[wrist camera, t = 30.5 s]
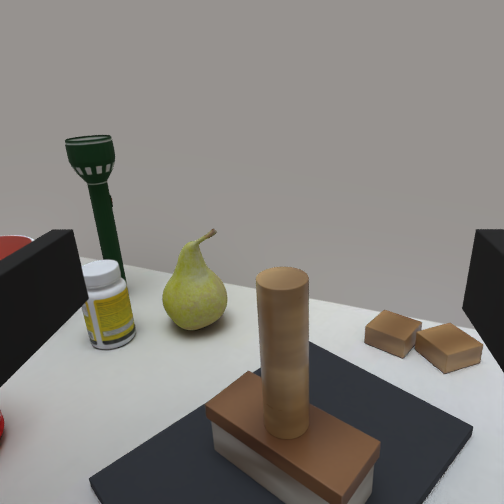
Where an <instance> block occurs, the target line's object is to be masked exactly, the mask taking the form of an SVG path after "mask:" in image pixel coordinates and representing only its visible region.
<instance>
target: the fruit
mask: <svg viewBox="0 0 504 504" xmlns="http://www.w3.org/2000/svg"><path fill="white" fill-rule="evenodd" d="M216 233H217V231H216V230H215V229H212V230H211V231H210V232H209V233H208V234H206V235H205V236H203V237H201V238H200V239H198V240H196V241H191V242H189V243H187V244H186V245H185V246H184V247H183V249H182V250H181V252H180V255H179V258H178V263H177V266H176V268H175V271H174V273H173V275H172V277H171V278H170V280H169V281H168V283H167V284H166V286H165V289H164V291H163V306H164V308H165V311H166V312H167V314H168V315H169V317H170V318H171V319H172V320H173V321H174V322H175V323H176V324H177V325H178V326H179V327H181V328H183V329H186V330H196V329H200V328H203V327H205V326H208V325H210V324H212V323H214V322H215V321H216V320H218V319H219V318H220V317H221V316H222V314H223V313H224V311H225V309H226V306H227V292H226V289H225V287H224V284H223V282H222V281H221V279H220V278H219V277H218V276H217V275H216V274H215V273H214V272H212V271H211V270H210V269H209V268H208V267H207V266H206V264H205V262H204V259H203V257H202V254H201V252H200V248H199V244H200V243H201V242H202V241H204V240H205V239H207V238H210V237H212V236H213V235H215V234H216Z"/></svg>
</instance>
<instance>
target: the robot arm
mask: <svg viewBox="0 0 504 504" xmlns="http://www.w3.org/2000/svg"><path fill="white" fill-rule="evenodd" d="M88 299H89V297H88V292H87V288H86V284H85V280H84V275H83V271H82V267H81V262H80V258H79V254H78V250H77V245H76V241H75V237H74V232H73V230H51V231H49V232H48V233H46V234H44V235H42V236H41V237H39V238H37V239H36V240H34V241H32V242H31V243H29V244H27V245H25V246H24V247H22V248H20V249H19V250H17V251H15V252H14V253H12V254H10V255H8V256H7V257H5V258H3V259H2V260H0V387H1V386H2V385H3V384H4V383H5V382H6V381H7V380H8V379H9V378H10V377H11V376H12V375H13V374H14V373H15V372H16V371H17V370H18V369H19V368H20V367H21V366H22V365H23V364H24V363H25V362H26V361H27V360H28V359H29V358H30V357H31V356H32V355H33V354H34V353H35V352H36V351H37V350H38V349H39V348H40V347H41V346H42V345H43V344H44V343H45V342H46V341H47V340H48V339H49V338H50V337H51V336H52V335H53V334H54V333H55V332H56V331H57V330H58V329H59V328H60V327H61V326H62V325H63V324H64V323H65V322H66V321H67V320H68V319H69V318H70V317H71V316H72V315H73V314H74V313H75V312H76V311H77V310H78V309H79V308H80V307H81V306H82V305H83V304H84V303H85V302H86V301H87V300H88ZM462 309H463V311H464V312H465V314H466V315H467V317H468V318H469V320H470V321H471V323H472V324H473V326H474V327H475V329H476V331H477V332H478V334H479V335H480V337H481V338H482V340H483V341H484V343H485V344H486V346H487V348H488V349H489V351H490V352H491V354H492V355H493V357H494V358H495V360H496V361H497V363H498V364H499V366H500V368H501V369H502V371H503V372H504V230H503V229H480V230H479V229H477V230H476V233H475V239H474V244H473V250H472V255H471V261H470V267H469V273H468V278H467V285H466V290H465V295H464V301H463V307H462Z"/></svg>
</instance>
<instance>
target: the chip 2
mask: <svg viewBox="0 0 504 504" xmlns="http://www.w3.org/2000/svg"><path fill="white" fill-rule="evenodd" d="M482 349H483V344H482V343H480V342H479V341H477V340H476V339H474V338H473V337H471V336H470V335H468V334H467V333H465V332H463V331H462V330H460V329H459V328H457V327H456V326H454V325H453V324H451V323H447V324H443V325H440V326H436V327H432V328H429V329H425V330H421V331H418V332H416V340H415V350H416V351H418V352H419V353H420V354H421V355H423V356H424V357H425V358H426V359H427V360H429V361H430V362H431V363H432V364H434V365H435V366H436V367H437V368H438V369H440V370H441V371H442V372H443V373H448V372H452V371H455V370H458V369H461V368H464V367H467V366H471V365H474V364H477V363H480V360H481V355H482Z"/></svg>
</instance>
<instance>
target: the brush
mask: <svg viewBox="0 0 504 504" xmlns="http://www.w3.org/2000/svg"><path fill="white" fill-rule="evenodd" d="M256 292H257V309H258V326H259V344H260V361H261V377H259V376H258V375H256V374H254V373H252V372H250V371H247V372H246V373H245V374H243V375H242V376H241V377H240V378H238V379H237V380H236V381H234V382H233V383H232V384H230V385H229V386H228V387H227V388H225V389H224V390H223V391H221V392H220V393H219V394H217V395H216V396H215V397H214V398H212V399H211V400H210V401H208V402H207V403H206V404H205V410H206V417H207V418H208V419H209V420H210V421H211V424H212V432H213V440H214V448H215V450H216V451H217V452H218V453H219V454H221V455H222V456H223V457H225V458H226V459H227V460H229V461H230V462H231V463H233V464H234V465H235V466H237V467H238V468H239V469H241V470H242V471H243V472H245V473H246V474H247V475H248V476H250V477H251V478H252V479H254V480H255V481H256V482H258V483H259V484H260V485H262V486H263V487H264V488H266V489H267V490H268V491H270V492H271V493H272V494H274V495H275V496H276V497H278V498H279V499H280V500H281V501H283V502H284V503H285V504H365V502H366V501H367V499H368V498H369V496H370V495H371V493H372V483H373V471H374V464H375V462H376V461H377V459H378V458H379V456H380V444H381V442H380V441H378V440H376V439H375V438H373V437H371V436H369V435H367V434H365V433H363V432H362V431H360V430H358V429H356V428H354V427H352V426H350V425H349V424H347V423H345V422H343V421H341V420H339V419H337V418H336V417H334V416H332V415H330V414H328V413H326V412H324V411H323V410H321V409H319V408H317V407H315V406H313V405H311V404H310V403H309V277H308V275H307V274H306V273H305V272H304V271H302V270H300V269H297V268H292V267H274V268H270V269H266V270H264V271H262V272H260V273H259V274H258V275H257V277H256Z"/></svg>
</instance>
